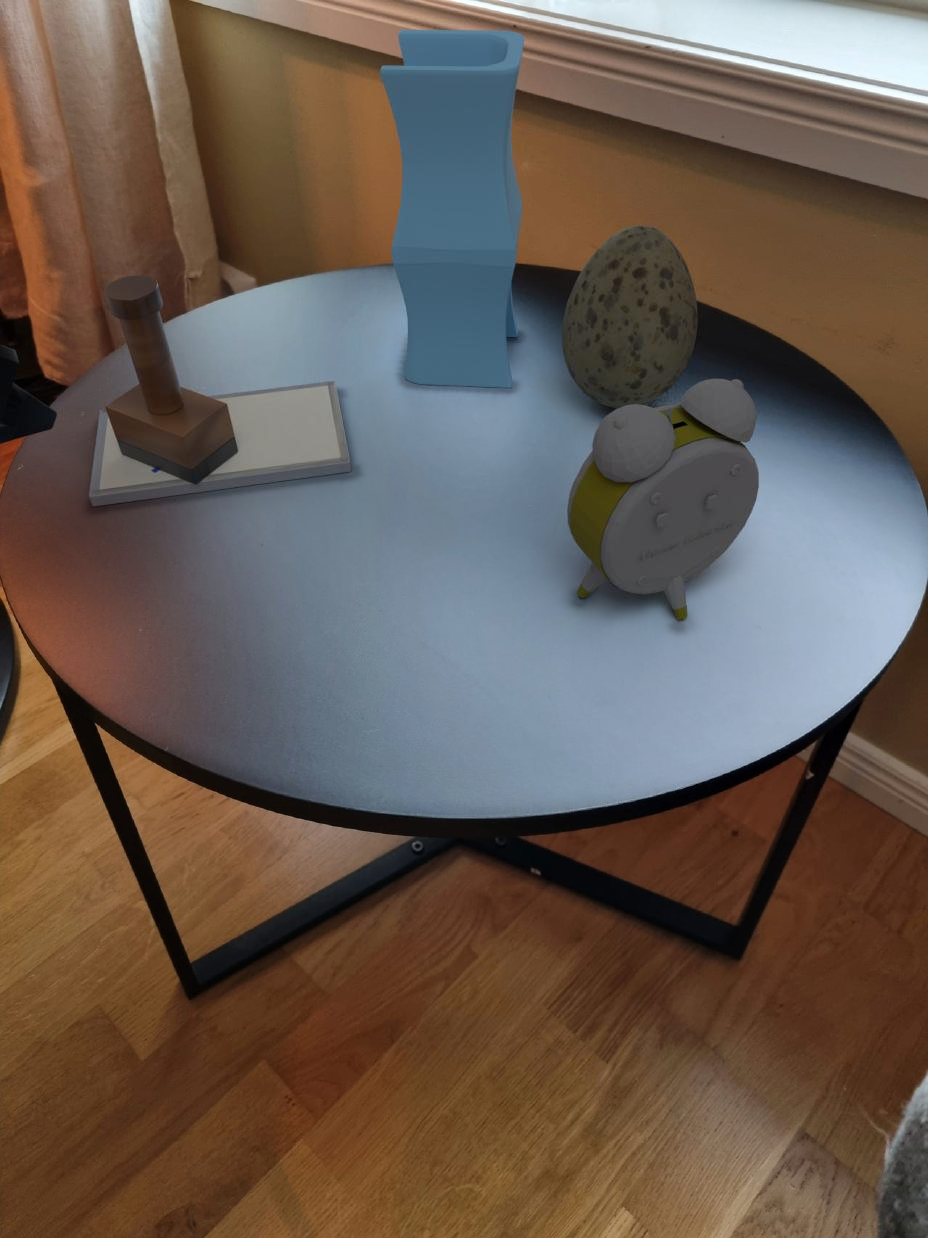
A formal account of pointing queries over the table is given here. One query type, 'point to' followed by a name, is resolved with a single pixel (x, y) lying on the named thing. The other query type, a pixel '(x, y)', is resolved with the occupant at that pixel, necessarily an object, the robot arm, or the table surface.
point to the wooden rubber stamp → (163, 395)
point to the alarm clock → (665, 490)
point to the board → (239, 447)
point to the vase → (457, 202)
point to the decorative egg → (630, 319)
